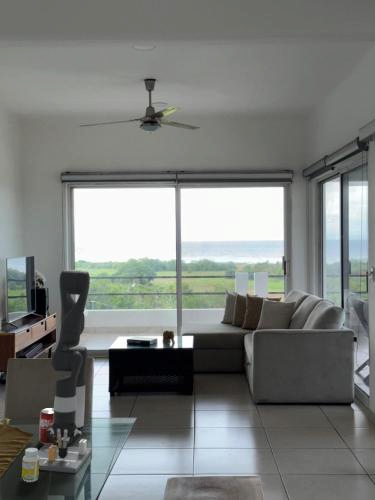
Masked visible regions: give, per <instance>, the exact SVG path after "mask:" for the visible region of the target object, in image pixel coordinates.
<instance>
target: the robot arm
mask: <svg viewBox="0 0 375 500" xmlns="http://www.w3.org/2000/svg"><path fill="white" fill-rule="evenodd" d="M90 276H91V275H90V272H88V270H81V269H79V270H78V269H63V270H62V271H61V273H60V276H59V281H58V283H59V295H60V308H61V309H60V313H61V314H60V331H59V340H58V342H57V345H56V348H55V350H54V352H53V354H52V357H51V361H50V364H51V368H52V369H53V370H54V371H55V372H71V374H70V375H66V376H63V377H59V378H57V379H56V380H55V393H54V400H53V401H54V402H53V408H54V418H53V425H52V427H51V428H50V429H48V430H47V431H46V434H47V436H48V437H49V439H50V440H51V442H52V443H53V444H52V445H54V446H58V447H59V453H58V455H59V456H60V458H65V457H66V456H67V454H68V447H71V446H73V445H74V443H75V442H76V441H77V440H78V439H79V438H80V436H82V435H83V432H82V431H81V430H79V428H81V427H82V428H83V427H84V424H85V423H84V422H85V407H86V405H85V403H86V383H87V382H86V381H87V379H86V378H87V375H86V374H87V365H88V349H87V347H86V346H79V344H80V340H81V339H80V338H81V335H82V333H83V332H84V331H85V330H84V329H85V325H86V324H85V322H86V320H85V319H86V318H85V316H86V315H85V308H86V305H87V302H88V301H87V300H88V296H89V292H90V291H89V290H90V284H91V283H90V282H91V281H90V280H91V277H90ZM72 295H74V296H76V295H77V296H78V298H77V301H75V300H74V299H73V296H72ZM54 432H55V434H56V435H57V438H58V439H57V438H56V436H55V435H54ZM72 435H73V436H74V437H73V438H72V439H71V438H70V437H71V436H72ZM70 439H71V440H70Z"/></svg>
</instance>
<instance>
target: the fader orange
mask: <svg viewBox="0 0 375 500" xmlns="http://www.w3.org/2000/svg"><path fill="white" fill-rule="evenodd" d="M56 458H57V446H54V445H53V444H51V446H50V447H49V456H48V461H55V459H56Z"/></svg>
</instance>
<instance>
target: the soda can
mask: <svg viewBox="0 0 375 500" xmlns="http://www.w3.org/2000/svg"><path fill="white" fill-rule="evenodd" d="M53 418H54V407H50V408H49V407H48V408H43V409H42V410H40V413H39V429H38V431H39V432H38V433H39V435H38V436H39V437H38V442H39V443H40V444H42V445H45V444H51V445H53V443H52V442H51V440H50V439H49V437H48V436H47V434H46V431H47V430H48V429H50V428H51V427H52V425H53ZM54 435H55V436H56V438H57V435H56V434H55V432H54ZM57 439H58V438H57Z"/></svg>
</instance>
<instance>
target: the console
mask: <svg viewBox="0 0 375 500" xmlns="http://www.w3.org/2000/svg"><path fill="white" fill-rule="evenodd" d="M51 445H52V444H43V446H42V447H40V449H39V450H38V454H37V455H38V456H39V458H40V459H39V469H40V470H39V471H48V472H49V471H50V472H61V473H71V474H77V473H78V472H79V471H80V469H81V468H82V466H83V465H84V464H85V462H86V461H87V460H88V458H89V457H90V456H91V454H92V453H93V448H92V447H87V448H86V453H85V454H84V455H78V452H79V446H73V445H72V446H71V447H68V454H67V456H66V457H65V458H60V456H59V455H58V453H59V447H58V446H57V458H56V459H55V461H48V456H49V447H50V446H51Z"/></svg>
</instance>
